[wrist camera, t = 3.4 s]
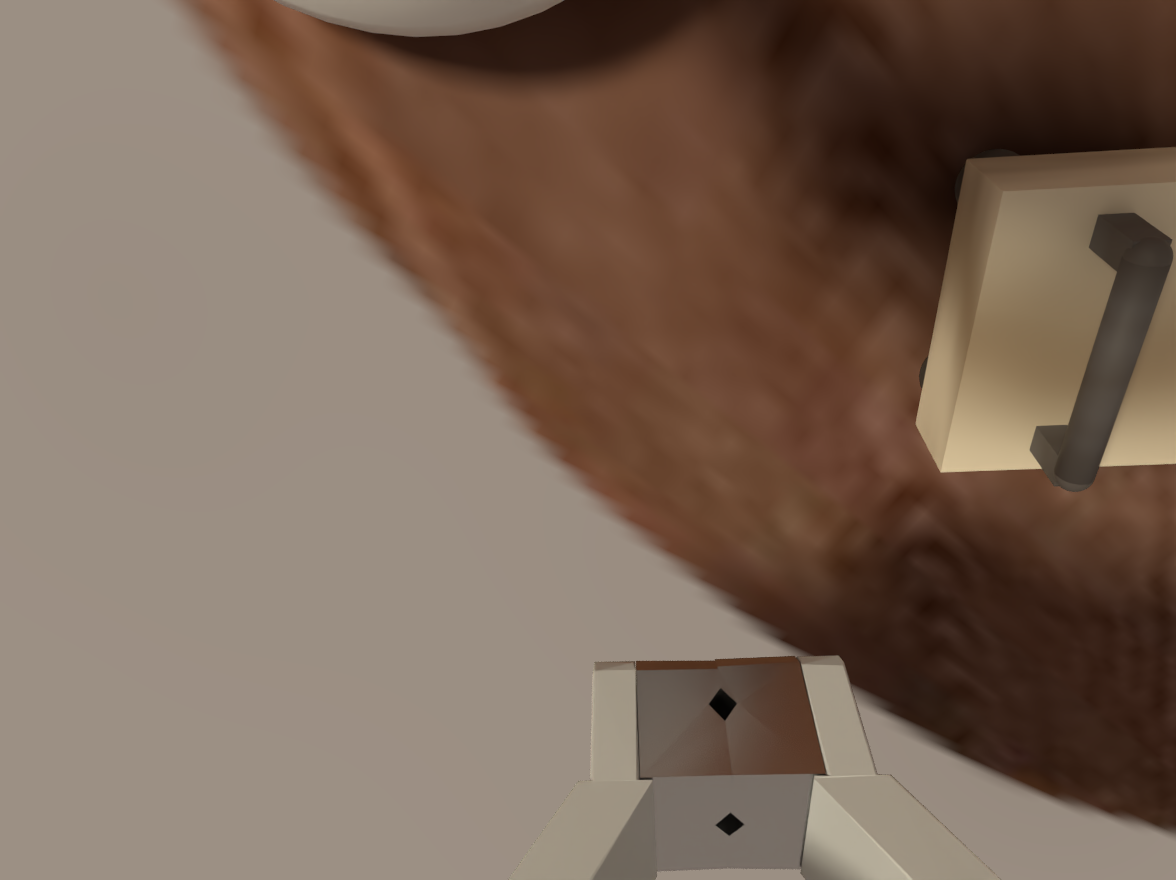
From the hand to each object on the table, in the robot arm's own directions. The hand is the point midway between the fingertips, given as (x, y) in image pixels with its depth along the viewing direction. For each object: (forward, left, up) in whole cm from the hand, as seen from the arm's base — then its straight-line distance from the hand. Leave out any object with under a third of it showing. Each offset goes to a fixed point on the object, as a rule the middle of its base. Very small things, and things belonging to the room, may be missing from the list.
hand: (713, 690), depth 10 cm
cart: (0, +10, -11) cm, 15 cm away
